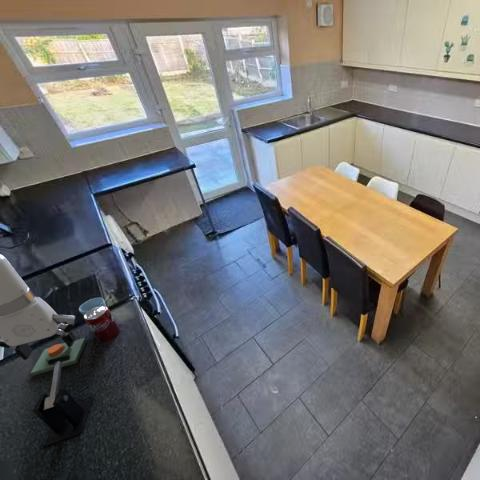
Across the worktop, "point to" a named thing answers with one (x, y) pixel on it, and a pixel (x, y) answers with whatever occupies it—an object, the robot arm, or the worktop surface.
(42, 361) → the button block
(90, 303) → the cup
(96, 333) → the soda can
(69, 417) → the toaster bracket
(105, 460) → the worktop surface
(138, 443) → the worktop surface
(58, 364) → the toaster lever
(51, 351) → the button
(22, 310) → the robot arm
